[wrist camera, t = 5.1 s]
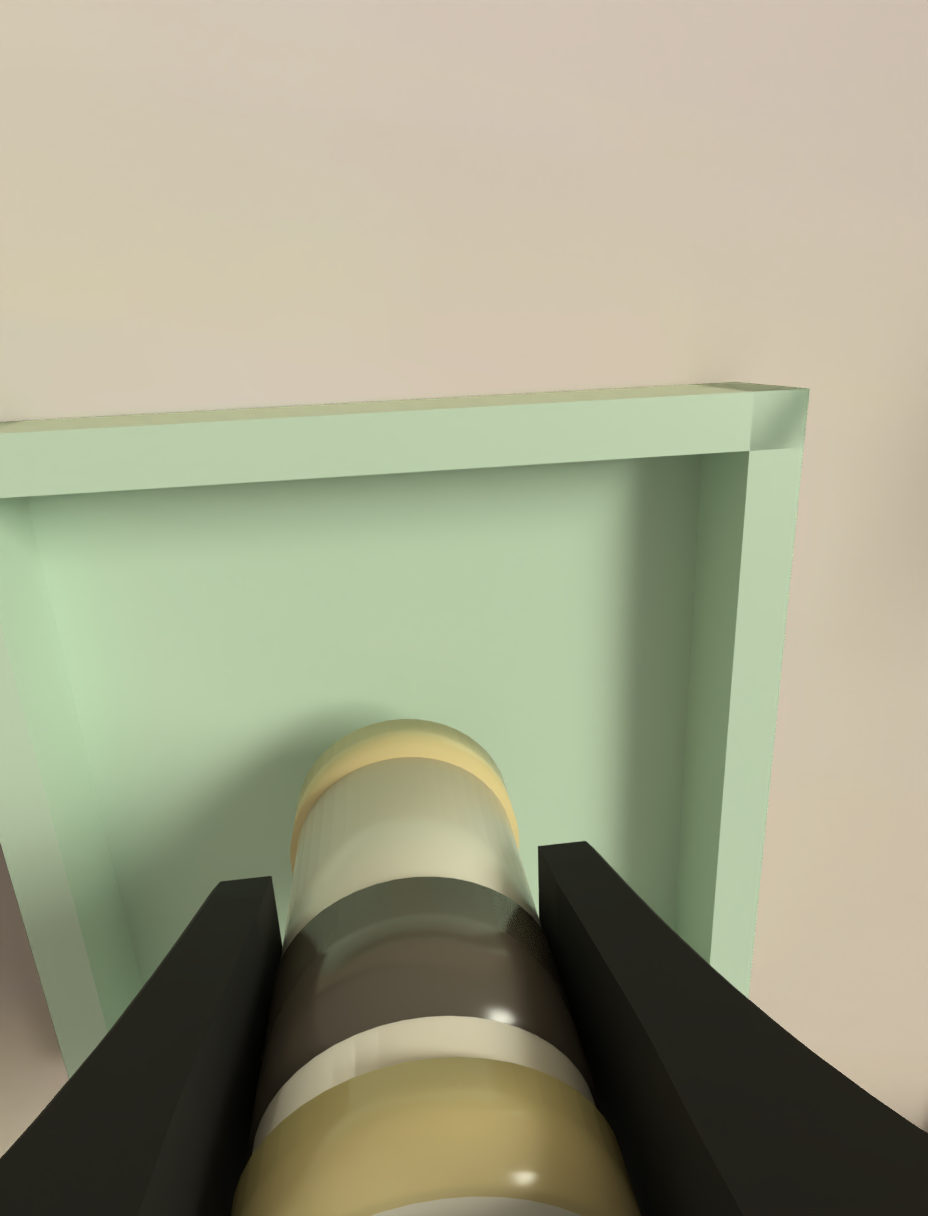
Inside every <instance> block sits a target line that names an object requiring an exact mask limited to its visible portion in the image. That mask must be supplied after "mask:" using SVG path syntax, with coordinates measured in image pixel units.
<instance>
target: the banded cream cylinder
mask: <svg viewBox="0 0 928 1216" xmlns="http://www.w3.org/2000/svg"><path fill="white" fill-rule="evenodd" d="M290 862H291V868H292V874H293V881H292V887H291V894H290V901H289V908H288V914H287V921H286V928H285V935H284V942H283V948H282V955H281V960H280V962H279V964H278V967H277V970H276V973H275V977H274V980H273V986H272V992H271V999H270V1005H269V1012H268V1018H267V1025H266V1031H265V1038H264V1044H263V1050H262V1057H261V1063H260V1070H259V1076H258V1083H257V1089H256V1096H255V1102H254V1109H253V1115H252V1122H251V1128H250V1135H249V1141H248V1148H247V1154H246V1158H247V1165H246V1167H245V1169H244V1170H243V1172H242V1174H241V1176H240V1179H239V1182H238V1185H237V1188H236V1191H235V1194H234V1198H233V1204H232V1210H231V1216H641V1213H640V1210H639V1207H638V1203H637V1200H636V1197H635V1194H634V1191H633V1188H632V1184H631V1181H630V1178H629V1175H628V1172H627V1169H626V1165H625V1162H624V1159H623V1156H622V1153H621V1150H620V1147H619V1144H618V1142H617V1139H616V1137H615V1134H614V1132H613V1130H612V1129H611V1127H610V1125H609V1124H608V1122H607V1120H606V1119H605V1117H604V1116H603V1115H602V1113H601V1108H600V1103H599V1098H598V1094H597V1091H596V1088H595V1085H594V1082H593V1078H592V1075H591V1072H590V1069H589V1065H588V1062H587V1059H586V1056H585V1052H584V1049H583V1046H582V1043H581V1039H580V1036H579V1033H578V1030H577V1026H576V1023H575V1020H574V1017H573V1013H572V1010H571V1007H570V1004H569V1000H568V997H567V994H566V991H565V988H564V984H563V981H562V978H561V975H560V972H559V969H558V966H557V963H556V959H555V956H554V953H553V950H552V947H551V945H550V942H549V940H548V938H547V937H546V935H545V933H544V931H543V930H542V927H541V924H540V920H539V917H538V914H537V910H536V907H535V904H534V900H533V897H532V894H531V890H530V887H529V884H528V880H527V877H526V874H525V870H524V867H523V864H522V860H521V857H520V854H519V831H518V826H517V821H516V817H515V814H514V811H513V808H512V805H511V802H510V798H509V795H508V792H507V789H506V786H505V783H504V780H503V777H502V775H501V772H500V770H499V769H498V767H497V765H496V763H495V762H494V760H493V759H492V758H491V756H490V755H489V754H488V752H487V751H485V750H484V749H483V748H482V747H481V746H480V745H479V744H478V743H477V742H476V741H474V740H473V739H472V738H470V737H469V736H467V735H466V734H464V733H462V732H460V731H458V730H457V729H454V728H452V727H449V726H446V725H444V724H440V723H436V722H432V721H427V720H419V719H397V720H388V721H383V722H379V723H374V724H371V725H368V726H365V727H363V728H360V729H358V730H356V731H354V732H352V733H350V734H348V735H346V736H344V737H343V738H341V739H340V740H338V741H337V742H335V743H334V744H333V745H332V746H331V747H329V748H328V749H327V750H326V751H325V752H324V753H323V754H322V755H321V756H320V757H319V758H318V760H317V761H316V762H315V763H314V765H313V766H312V768H311V769H310V771H309V772H308V774H307V776H306V778H305V780H304V782H303V784H302V787H301V790H300V793H299V797H298V803H297V809H296V815H295V821H294V827H293V833H292V840H291V846H290Z"/></svg>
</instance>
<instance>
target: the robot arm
mask: <svg viewBox="0 0 928 1216" xmlns="http://www.w3.org/2000/svg"><path fill="white" fill-rule="evenodd" d="M538 887H539V920H540V924H541V927H542V930H543V931H544V933H545V935H546V937H547V938H548V940H549V942H550V945H551V947H552V950H553V953H554V956H555V959H556V963H557V966H558V969H559V972H560V975H561V978H562V981H563V984H564V988H565V991H566V994H567V997H568V1000H569V1004H570V1007H571V1010H572V1013H573V1017H574V1020H575V1023H576V1026H577V1030H578V1033H579V1036H580V1039H581V1043H582V1046H583V1049H584V1052H585V1056H586V1059H587V1062H588V1065H589V1069H590V1072H591V1075H592V1078H593V1082H594V1085H595V1088H596V1091H597V1094H598V1098H599V1103H600V1108H601V1113H602V1115H603V1116H604V1117H605V1119H606V1120H607V1122H608V1124H609V1125H610V1127H611V1129H612V1130H613V1132H614V1134H615V1137H616V1139H617V1142H618V1144H619V1147H620V1150H621V1153H622V1156H623V1159H624V1162H625V1165H626V1169H627V1172H628V1175H629V1178H630V1181H631V1184H632V1188H633V1191H634V1194H635V1197H636V1200H637V1203H638V1207H639V1210H640V1213H641V1216H928V1133H926V1132H925V1131H923V1130H921V1129H920V1128H918V1127H917V1126H915V1125H914V1124H912V1123H911V1122H909V1121H908V1120H906V1119H905V1118H904V1117H902V1116H901V1115H899V1114H898V1113H896V1112H895V1111H893V1110H892V1109H890V1108H889V1107H888V1106H886V1105H885V1104H883V1103H882V1102H880V1101H879V1100H877V1099H876V1098H875V1097H873V1096H872V1095H870V1094H869V1093H868V1092H866V1091H865V1090H864V1089H862V1088H861V1087H860V1086H858V1085H857V1084H855V1083H854V1082H853V1081H851V1080H850V1079H849V1078H847V1077H846V1076H845V1075H843V1074H842V1073H841V1072H839V1071H838V1070H837V1069H835V1068H834V1067H833V1066H831V1065H830V1064H829V1063H827V1062H826V1061H824V1060H823V1059H822V1058H820V1057H819V1056H818V1055H816V1054H815V1053H814V1052H812V1051H811V1050H810V1049H809V1048H807V1047H806V1046H805V1045H804V1044H802V1043H801V1042H800V1041H798V1040H797V1039H796V1038H795V1037H793V1036H792V1035H791V1034H790V1033H789V1032H787V1031H786V1030H785V1029H784V1028H782V1027H781V1026H780V1025H779V1024H778V1023H776V1022H775V1021H774V1020H773V1019H771V1018H770V1017H769V1016H768V1015H767V1014H766V1013H764V1012H763V1011H762V1010H761V1009H760V1008H759V1007H757V1006H756V1005H755V1004H754V1003H753V1002H752V1001H750V1000H749V999H748V998H747V997H746V996H745V995H743V994H742V993H741V992H740V991H739V990H738V989H736V988H735V987H734V986H733V985H732V984H731V983H730V982H729V981H727V980H726V979H725V978H724V977H723V976H722V975H721V974H720V973H718V972H717V971H716V970H715V969H714V968H713V967H712V966H711V965H710V964H709V963H708V962H706V961H705V960H704V959H703V958H702V957H701V956H700V955H699V954H698V953H697V952H696V951H695V950H694V949H693V948H692V947H691V946H690V945H689V944H687V943H686V942H685V941H684V940H683V939H682V938H681V937H680V936H679V935H678V934H677V933H676V932H675V931H674V930H673V929H672V928H671V927H670V926H669V925H668V924H667V923H666V922H665V921H663V920H662V919H661V918H660V917H659V916H658V915H657V914H656V913H655V912H654V911H653V910H652V909H651V908H650V906H649V905H648V904H647V903H646V902H645V901H644V900H643V899H642V898H641V897H640V896H639V895H638V894H637V893H636V892H635V891H634V890H633V889H632V888H631V887H630V886H629V885H628V884H627V883H626V882H625V881H624V880H623V879H622V878H621V876H620V875H619V874H618V873H617V872H616V871H615V870H614V869H613V868H612V867H611V866H610V865H609V864H608V863H607V861H606V860H605V859H604V858H603V857H602V856H601V855H600V854H599V853H598V852H597V851H596V850H595V849H594V848H593V847H592V846H591V845H590V844H589V843H588V842H586V841H579V842H570V843H561V844H552V845H543V846H538ZM282 948H283V946H282V940H281V933H280V927H279V921H278V914H277V908H276V901H275V895H274V888H273V882H272V876H265V877H256V878H247V879H238V880H229V881H220V882H219V883H218V885H217V886H216V887H215V888H214V889H213V890H212V891H211V893H210V894H209V896H208V897H207V898H206V900H205V901H204V903H203V904H202V906H201V907H200V908H199V910H198V911H197V913H196V914H195V916H194V917H193V918H192V920H191V921H190V923H189V924H188V926H187V927H186V928H185V930H184V931H183V933H182V934H181V936H180V937H179V938H178V940H177V941H176V943H175V944H174V945H173V947H172V948H171V949H170V951H169V952H168V954H167V955H166V956H165V958H164V959H163V960H162V962H161V963H160V965H159V966H158V967H157V969H156V970H155V971H154V973H153V974H152V976H151V977H150V978H149V979H148V981H147V982H146V983H145V985H144V986H143V987H142V989H141V990H140V991H139V993H138V994H137V995H136V996H135V998H134V999H133V1000H132V1002H131V1003H130V1004H129V1006H128V1007H127V1008H126V1010H125V1011H124V1012H123V1013H122V1015H121V1016H120V1017H119V1019H118V1020H117V1021H116V1023H115V1024H114V1025H113V1027H112V1028H111V1029H110V1030H109V1032H108V1033H107V1034H106V1035H105V1037H104V1038H103V1039H102V1040H101V1042H100V1043H99V1044H98V1045H97V1047H96V1048H95V1049H94V1050H93V1051H92V1053H91V1054H90V1055H89V1056H88V1057H87V1059H86V1060H85V1061H84V1062H83V1063H82V1065H81V1066H80V1067H79V1068H78V1069H77V1071H76V1072H75V1073H74V1074H73V1075H72V1077H71V1078H70V1079H69V1080H68V1081H67V1083H66V1084H65V1085H64V1086H63V1087H62V1088H61V1090H60V1091H59V1092H58V1093H57V1094H56V1096H55V1097H54V1098H53V1099H52V1100H51V1102H50V1103H49V1104H48V1105H47V1106H46V1108H45V1109H44V1110H43V1111H42V1112H41V1113H40V1115H39V1116H38V1117H37V1118H36V1119H35V1120H34V1122H33V1123H32V1124H31V1125H30V1126H29V1127H28V1128H27V1129H26V1130H25V1132H24V1133H23V1134H22V1135H21V1136H20V1137H19V1138H18V1139H17V1141H16V1142H15V1143H14V1144H13V1145H12V1146H11V1147H10V1148H9V1150H8V1151H7V1152H6V1153H5V1154H4V1155H3V1156H2V1157H1V1158H0V1216H231V1210H232V1204H233V1198H234V1194H235V1191H236V1188H237V1185H238V1182H239V1179H240V1176H241V1174H242V1172H243V1170H244V1169H245V1167H246V1165H247V1158H246V1154H247V1148H248V1141H249V1135H250V1128H251V1122H252V1115H253V1109H254V1102H255V1096H256V1089H257V1083H258V1076H259V1070H260V1063H261V1057H262V1050H263V1044H264V1038H265V1031H266V1025H267V1018H268V1012H269V1005H270V999H271V992H272V986H273V980H274V977H275V973H276V970H277V967H278V964H279V962H280V960H281V955H282Z"/></svg>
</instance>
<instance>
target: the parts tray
mask: <svg viewBox="0 0 928 1216" xmlns="http://www.w3.org/2000/svg"><path fill="white" fill-rule="evenodd" d="M809 390H810V389H808V388H797V387H786V386H775V385H764V384H753V383H742V382H730V383H711V384H693V385H674V386H656V387H637V388H619V389H600V390H582V391H564V392H545V393H527V394H508V395H490V396H471V397H453V398H434V399H416V400H398V401H379V402H361V403H342V404H324V405H305V406H287V407H268V408H250V409H232V410H213V411H195V412H176V413H158V414H139V415H121V416H102V417H84V418H65V419H47V420H29V421H10V422H0V843H1V847H2V850H3V854H4V857H5V860H6V864H7V867H8V871H9V874H10V878H11V881H12V885H13V888H14V891H15V895H16V898H17V902H18V905H19V909H20V912H21V915H22V919H23V922H24V926H25V929H26V933H27V936H28V940H29V943H30V946H31V950H32V953H33V957H34V960H35V964H36V967H37V970H38V974H39V977H40V981H41V984H42V988H43V991H44V995H45V998H46V1001H47V1005H48V1008H49V1012H50V1015H51V1019H52V1022H53V1025H54V1029H55V1032H56V1036H57V1039H58V1043H59V1046H60V1050H61V1053H62V1056H63V1060H64V1063H65V1067H66V1070H67V1074H68V1077H69V1079H70V1078H71V1077H72V1075H73V1074H74V1073H75V1072H76V1071H77V1069H78V1068H79V1067H80V1066H81V1065H82V1063H83V1062H84V1061H85V1060H86V1059H87V1057H88V1056H89V1055H90V1054H91V1053H92V1051H93V1050H94V1049H95V1048H96V1047H97V1045H98V1044H99V1043H100V1042H101V1040H102V1039H103V1038H104V1037H105V1035H106V1034H107V1033H108V1032H109V1030H110V1029H111V1028H112V1027H113V1025H114V1024H115V1023H116V1021H117V1020H118V1019H119V1017H120V1016H121V1015H122V1013H123V1012H124V1011H125V1010H126V1008H127V1007H128V1006H129V1004H130V1003H131V1002H132V1000H133V999H134V998H135V996H136V995H137V994H138V993H139V991H140V990H141V989H142V987H143V986H144V985H145V983H146V982H147V981H148V979H149V978H150V977H151V976H152V974H153V973H154V971H155V970H156V969H157V967H158V966H159V965H160V963H161V962H162V960H163V959H164V958H165V956H166V955H167V954H168V952H169V951H170V949H171V948H172V947H173V945H174V944H175V943H176V941H177V940H178V938H179V937H180V936H181V934H182V933H183V931H184V930H185V928H186V927H187V926H188V924H189V923H190V921H191V920H192V918H193V917H194V916H195V914H196V913H197V911H198V910H199V908H200V907H201V906H202V904H203V903H204V901H205V900H206V898H207V897H208V896H209V894H210V893H211V891H212V890H213V889H214V888H215V887H216V886H217V885H218V883H219V882H220V881H229V880H238V879H247V878H256V877H265V876H272V882H273V888H274V895H275V901H276V908H277V914H278V921H279V927H280V933H281V940H282V946H283V942H284V935H285V928H286V921H287V914H288V908H289V901H290V894H291V887H292V881H293V874H292V868H291V862H290V846H291V840H292V833H293V827H294V821H295V815H296V809H297V803H298V797H299V793H300V790H301V787H302V784H303V782H304V780H305V778H306V776H307V774H308V772H309V771H310V769H311V768H312V766H313V765H314V763H315V762H316V761H317V760H318V758H319V757H320V756H321V755H322V754H323V753H324V752H325V751H326V750H327V749H328V748H329V747H331V746H332V745H333V744H334V743H335V742H337V741H338V740H340V739H341V738H343V737H344V736H346V735H348V734H350V733H352V732H354V731H356V730H358V729H360V728H363V727H365V726H368V725H371V724H374V723H379V722H383V721H388V720H397V719H419V720H427V721H432V722H436V723H440V724H444V725H446V726H449V727H452V728H454V729H457V730H458V731H460V732H462V733H464V734H466V735H467V736H469V737H470V738H472V739H473V740H474V741H476V742H477V743H478V744H479V745H480V746H481V747H482V748H483V749H484V750H485V751H487V752H488V754H489V755H490V756H491V758H492V759H493V760H494V762H495V763H496V765H497V767H498V769H499V770H500V772H501V775H502V777H503V780H504V783H505V786H506V789H507V792H508V795H509V798H510V802H511V805H512V808H513V811H514V814H515V817H516V821H517V826H518V831H519V854H520V857H521V860H522V864H523V867H524V870H525V874H526V877H527V880H528V884H529V887H530V890H531V894H532V897H533V900H534V904H535V907H536V910H537V914H538V917H539V887H538V846H543V845H552V844H561V843H570V842H579V841H586V842H588V843H589V844H590V845H591V846H592V847H593V848H594V849H595V850H596V851H597V852H598V853H599V854H600V855H601V856H602V857H603V858H604V859H605V860H606V861H607V863H608V864H609V865H610V866H611V867H612V868H613V869H614V870H615V871H616V872H617V873H618V874H619V875H620V876H621V878H622V879H623V880H624V881H625V882H626V883H627V884H628V885H629V886H630V887H631V888H632V889H633V890H634V891H635V892H636V893H637V894H638V895H639V896H640V897H641V898H642V899H643V900H644V901H645V902H646V903H647V904H648V905H649V906H650V908H651V909H652V910H653V911H654V912H655V913H656V914H657V915H658V916H659V917H660V918H661V919H662V920H663V921H665V922H666V923H667V924H668V925H669V926H670V927H671V928H672V929H673V930H674V931H675V932H676V933H677V934H678V935H679V936H680V937H681V938H682V939H683V940H684V941H685V942H686V943H687V944H689V945H690V946H691V947H692V948H693V949H694V950H695V951H696V952H697V953H698V954H699V955H700V956H701V957H702V958H703V959H704V960H705V961H706V962H708V963H709V964H710V965H711V966H712V967H713V968H714V969H715V970H716V971H717V972H718V973H720V974H721V975H722V976H723V977H724V978H725V979H726V980H727V981H729V982H730V983H731V984H732V985H733V986H734V987H735V988H736V989H738V990H739V991H740V992H741V993H742V994H743V995H745V996H746V997H747V998H749V988H750V978H751V968H752V958H753V948H754V938H755V928H756V918H757V908H758V898H759V888H760V878H761V868H762V858H763V848H764V838H765V828H766V818H767V808H768V798H769V788H770V778H771V768H772V759H773V749H774V739H775V729H776V719H777V709H778V699H779V689H780V679H781V669H782V659H783V649H784V639H785V629H786V619H787V609H788V599H789V589H790V579H791V569H792V559H793V549H794V539H795V529H796V519H797V509H798V499H799V489H800V479H801V469H802V459H803V449H804V440H805V430H806V420H807V410H808V400H809Z"/></svg>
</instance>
